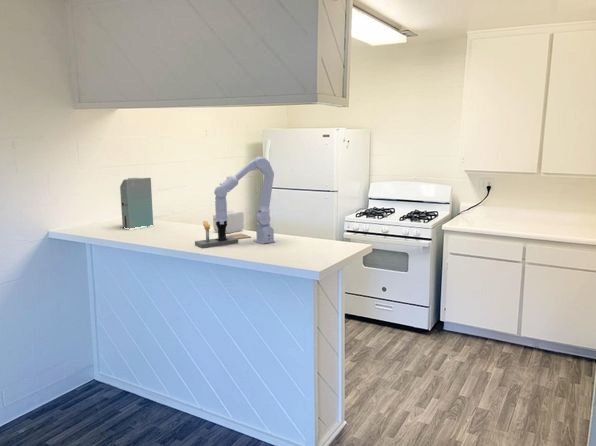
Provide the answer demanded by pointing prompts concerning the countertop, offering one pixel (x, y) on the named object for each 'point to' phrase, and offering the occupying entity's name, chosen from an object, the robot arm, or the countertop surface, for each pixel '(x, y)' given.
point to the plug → (221, 237)
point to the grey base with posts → (215, 241)
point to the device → (136, 202)
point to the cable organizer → (232, 221)
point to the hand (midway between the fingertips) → (222, 235)
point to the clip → (206, 225)
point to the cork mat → (239, 236)
